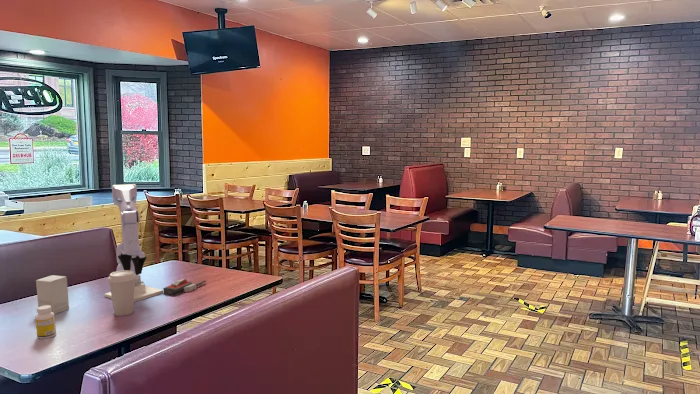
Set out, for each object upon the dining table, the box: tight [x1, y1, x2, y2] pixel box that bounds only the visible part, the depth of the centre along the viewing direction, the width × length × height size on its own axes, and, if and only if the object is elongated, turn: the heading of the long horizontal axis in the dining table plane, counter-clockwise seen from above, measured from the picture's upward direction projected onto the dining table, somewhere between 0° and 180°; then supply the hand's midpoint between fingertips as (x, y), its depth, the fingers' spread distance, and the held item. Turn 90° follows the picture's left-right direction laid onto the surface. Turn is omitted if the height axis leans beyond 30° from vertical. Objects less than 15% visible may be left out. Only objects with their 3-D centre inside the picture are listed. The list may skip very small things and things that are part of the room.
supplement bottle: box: [34, 305, 57, 340], centre depth 167 cm, size 5×5×10 cm
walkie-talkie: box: [162, 278, 207, 296], centre depth 218 cm, size 9×4×20 cm
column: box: [134, 274, 142, 287], centre depth 210 cm, size 4×4×7 cm
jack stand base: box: [103, 282, 164, 303], centre depth 210 cm, size 16×16×4 cm
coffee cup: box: [107, 270, 136, 317], centre depth 188 cm, size 10×10×15 cm
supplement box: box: [35, 274, 70, 315], centre depth 191 cm, size 7×7×13 cm
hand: (132, 272), depth 209 cm, fingers open, 7 cm apart
